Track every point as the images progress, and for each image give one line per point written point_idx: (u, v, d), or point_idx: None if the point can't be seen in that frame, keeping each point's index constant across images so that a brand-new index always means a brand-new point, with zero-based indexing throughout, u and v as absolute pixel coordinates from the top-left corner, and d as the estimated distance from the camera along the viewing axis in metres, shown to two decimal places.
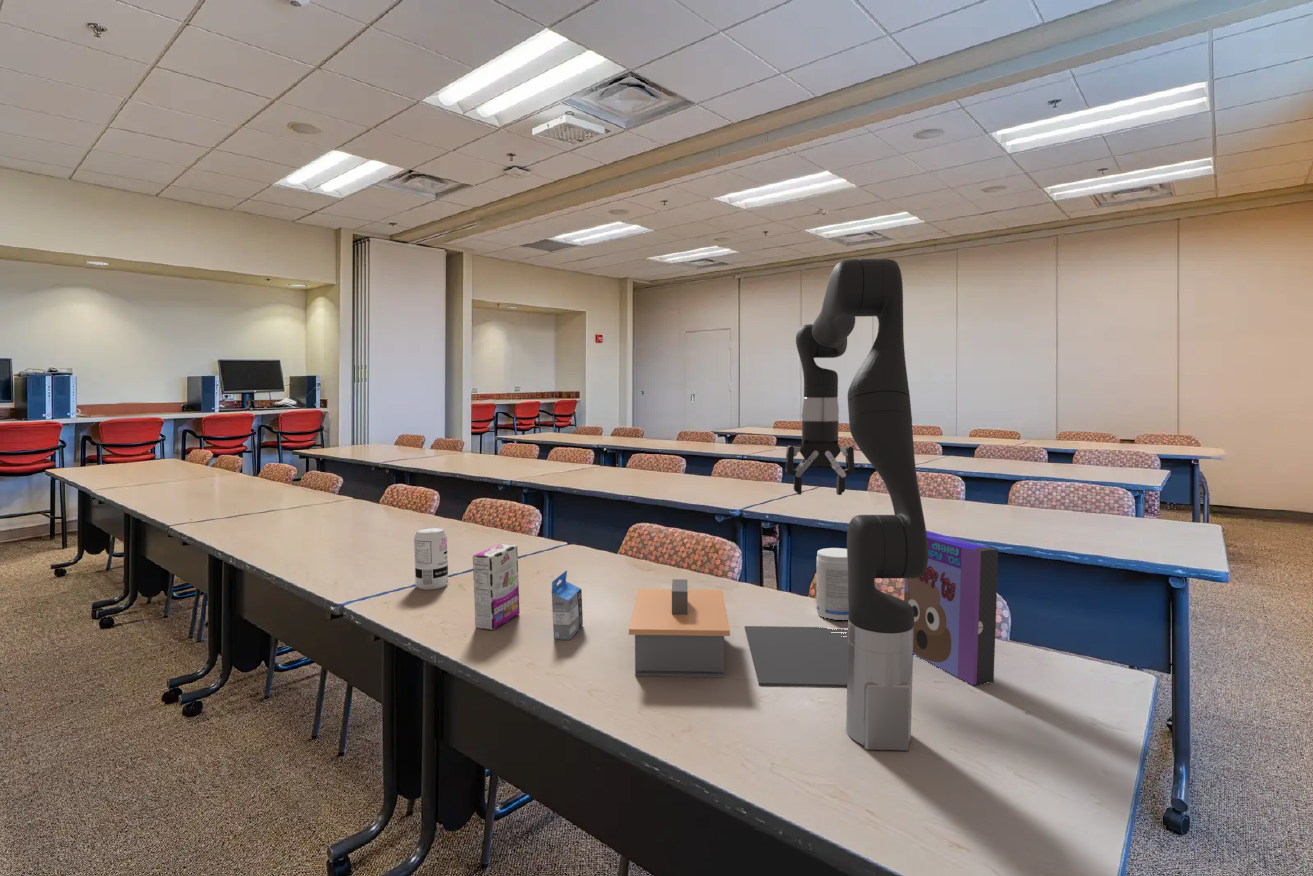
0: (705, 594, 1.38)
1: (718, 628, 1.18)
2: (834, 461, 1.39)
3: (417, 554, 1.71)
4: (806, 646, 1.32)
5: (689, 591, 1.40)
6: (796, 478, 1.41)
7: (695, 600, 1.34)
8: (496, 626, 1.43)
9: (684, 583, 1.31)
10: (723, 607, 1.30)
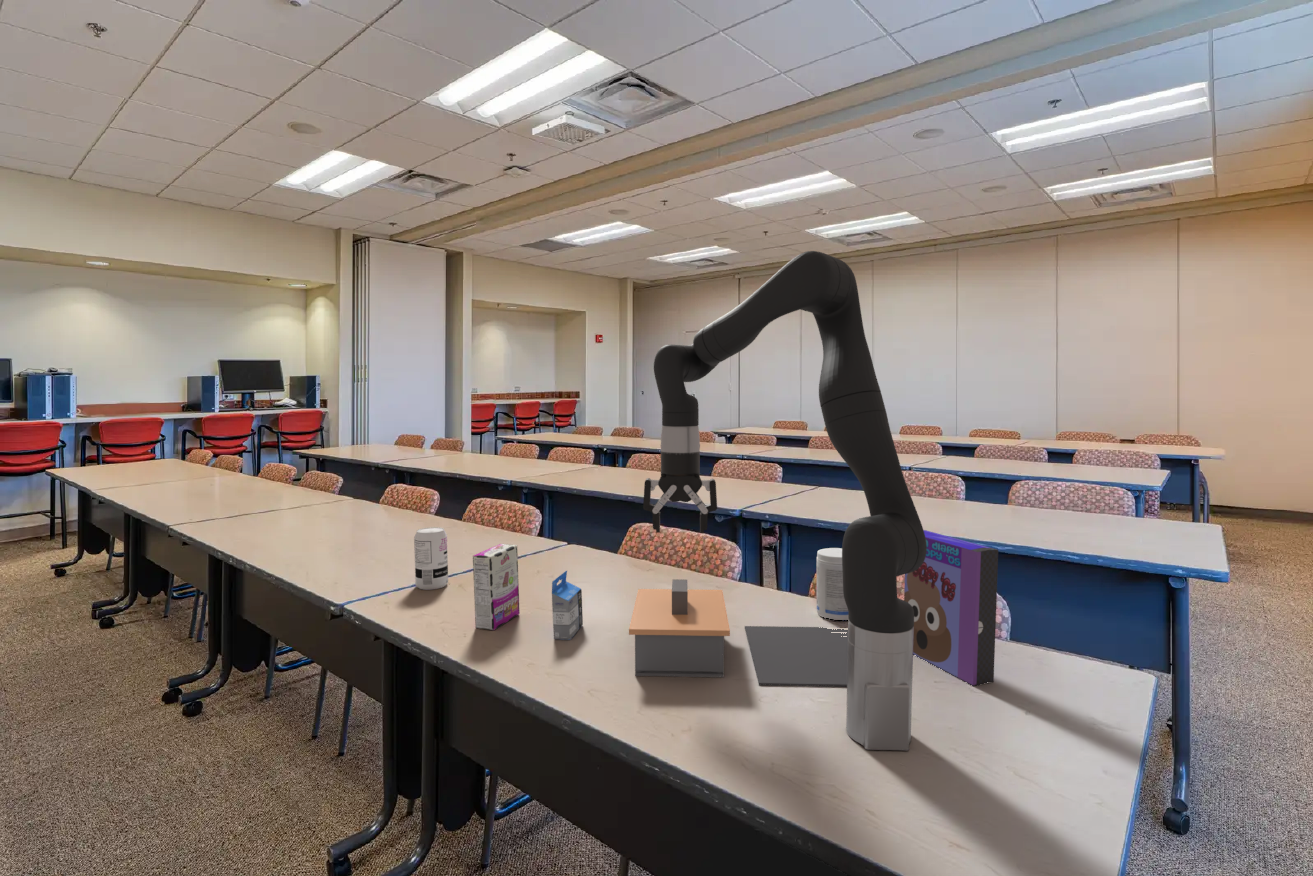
0: (705, 594, 1.38)
1: (718, 628, 1.18)
2: (694, 496, 1.26)
3: (417, 554, 1.71)
4: (806, 646, 1.32)
5: (689, 591, 1.40)
6: (654, 514, 1.28)
7: (695, 600, 1.34)
8: (496, 626, 1.43)
9: (684, 583, 1.31)
10: (723, 607, 1.30)
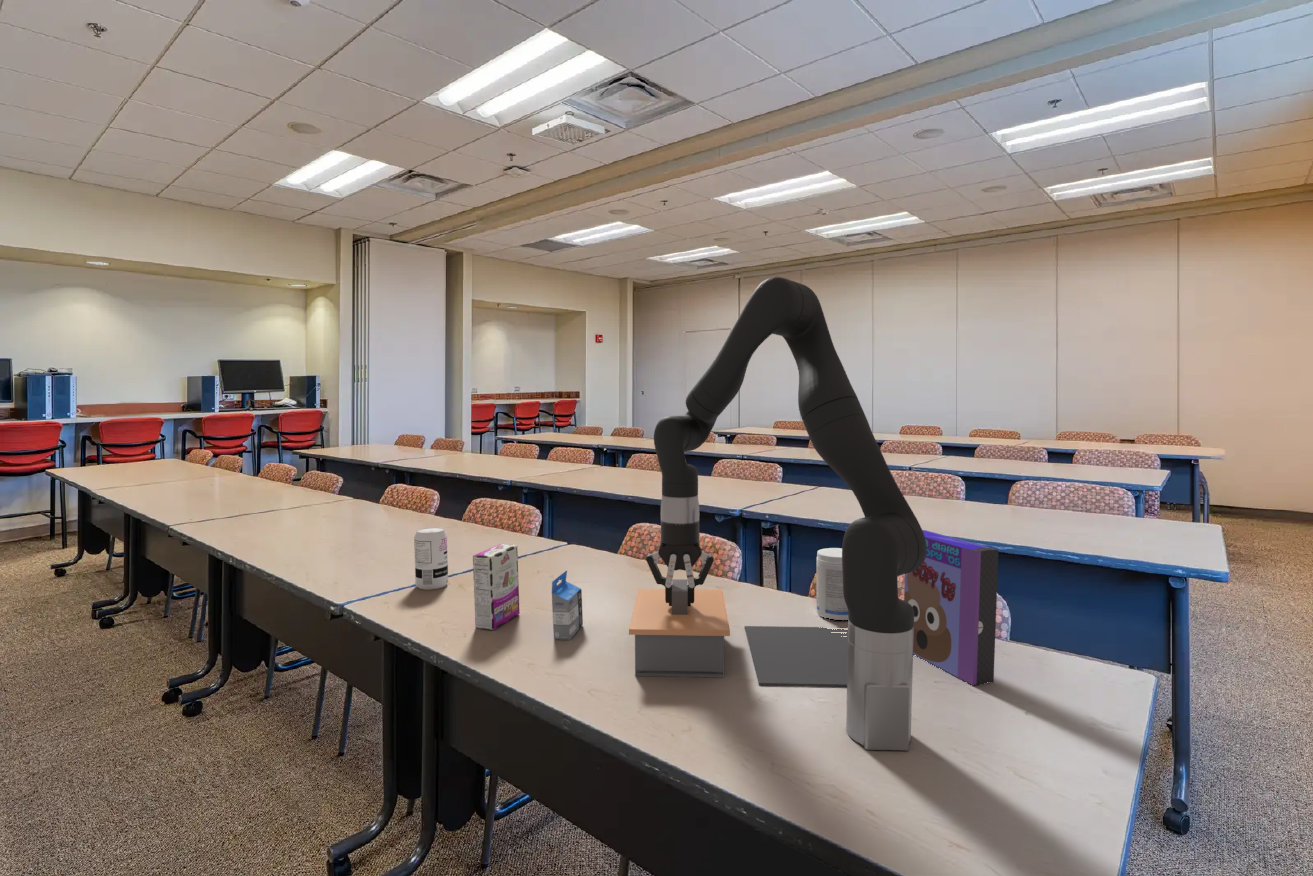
0: (705, 594, 1.38)
1: (718, 628, 1.18)
2: (689, 568, 1.27)
3: (417, 554, 1.71)
4: (806, 646, 1.32)
5: None
6: (667, 588, 1.29)
7: (695, 600, 1.34)
8: (496, 626, 1.43)
9: (684, 583, 1.31)
10: (723, 607, 1.30)
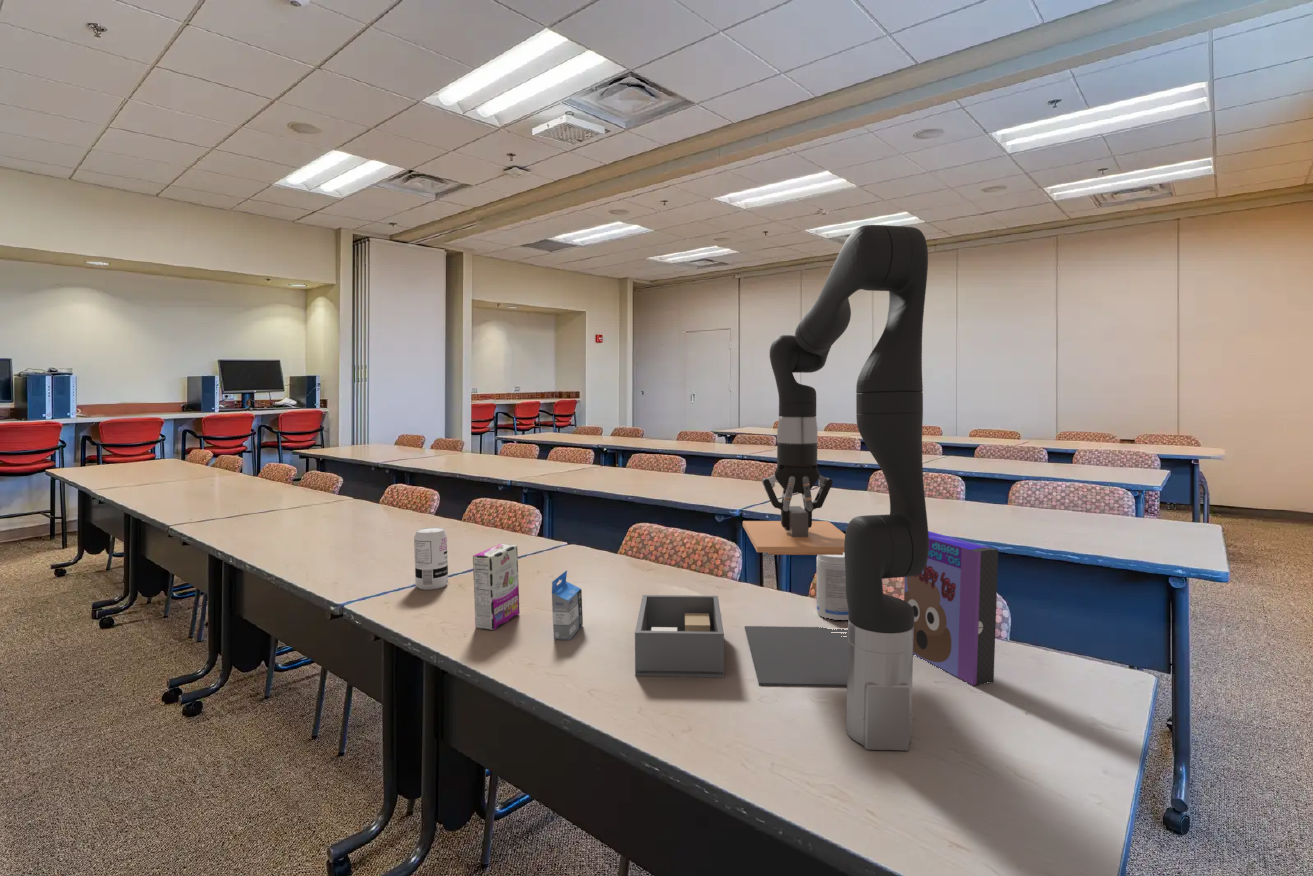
0: (813, 523, 1.36)
1: None
2: (808, 490, 1.25)
3: (417, 554, 1.71)
4: (806, 646, 1.32)
5: None
6: (784, 512, 1.26)
7: None
8: (496, 626, 1.43)
9: (798, 508, 1.29)
10: (840, 532, 1.28)
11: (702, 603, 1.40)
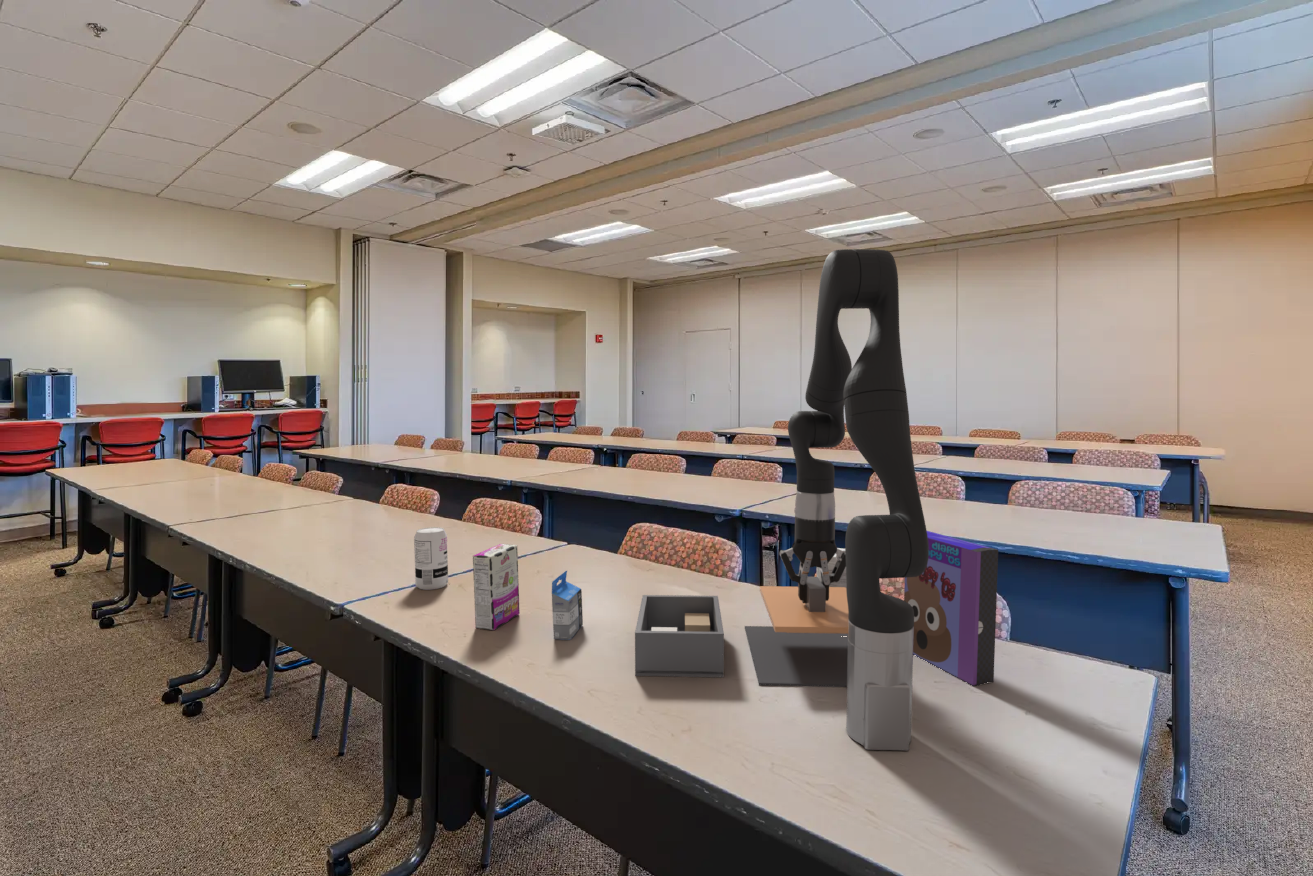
0: (830, 591, 1.37)
1: None
2: (825, 565, 1.26)
3: (417, 554, 1.71)
4: (806, 646, 1.32)
5: None
6: (801, 585, 1.27)
7: None
8: (496, 626, 1.43)
9: (816, 580, 1.30)
10: None
11: (702, 603, 1.40)
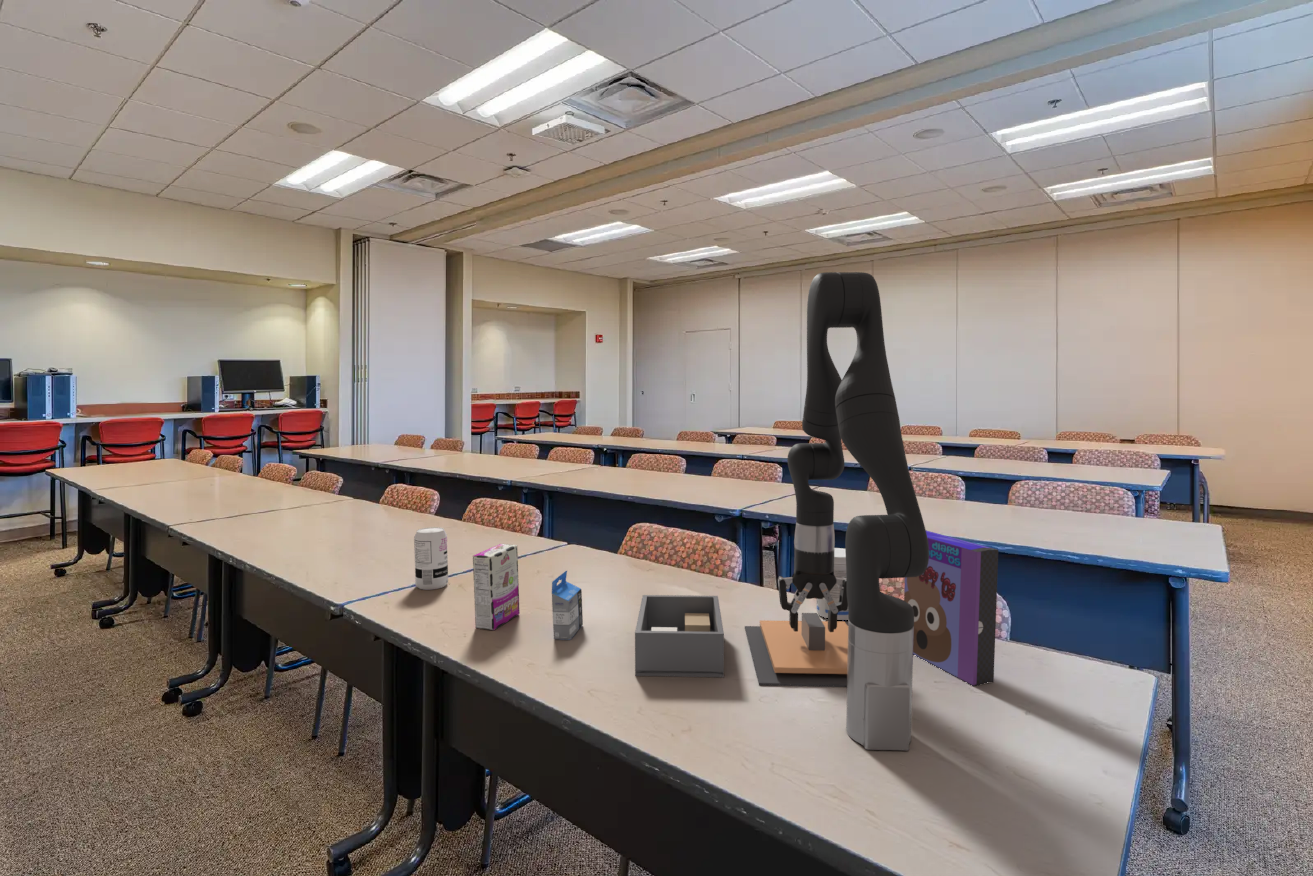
0: None
1: None
2: (828, 595, 1.26)
3: (417, 554, 1.71)
4: None
5: None
6: (792, 614, 1.28)
7: None
8: (496, 626, 1.43)
9: (815, 617, 1.30)
10: None
11: (702, 603, 1.40)
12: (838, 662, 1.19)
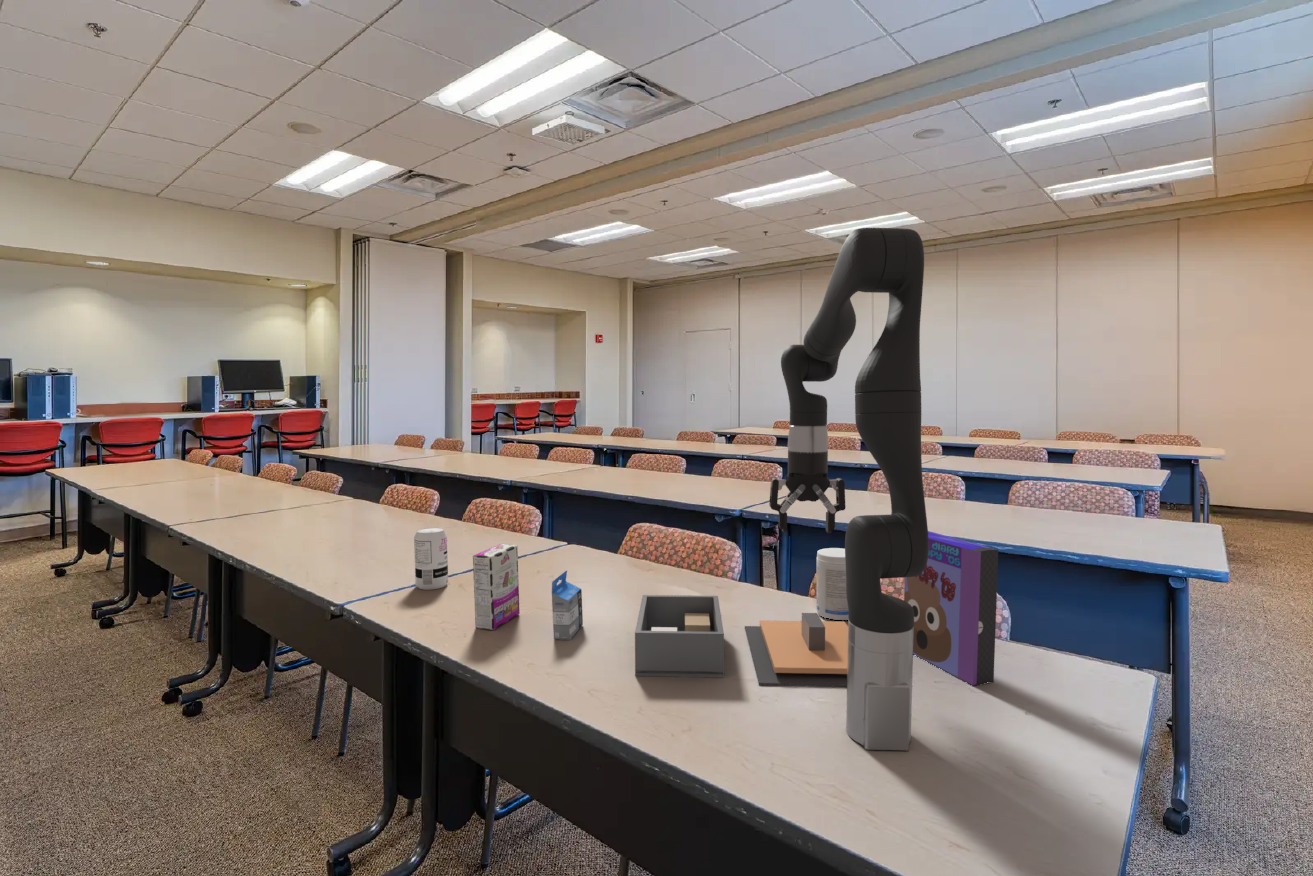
0: (829, 626, 1.38)
1: None
2: (823, 496, 1.26)
3: (417, 554, 1.71)
4: None
5: None
6: (781, 514, 1.28)
7: None
8: (496, 626, 1.43)
9: (815, 617, 1.30)
10: None
11: (702, 603, 1.40)
12: (838, 662, 1.19)
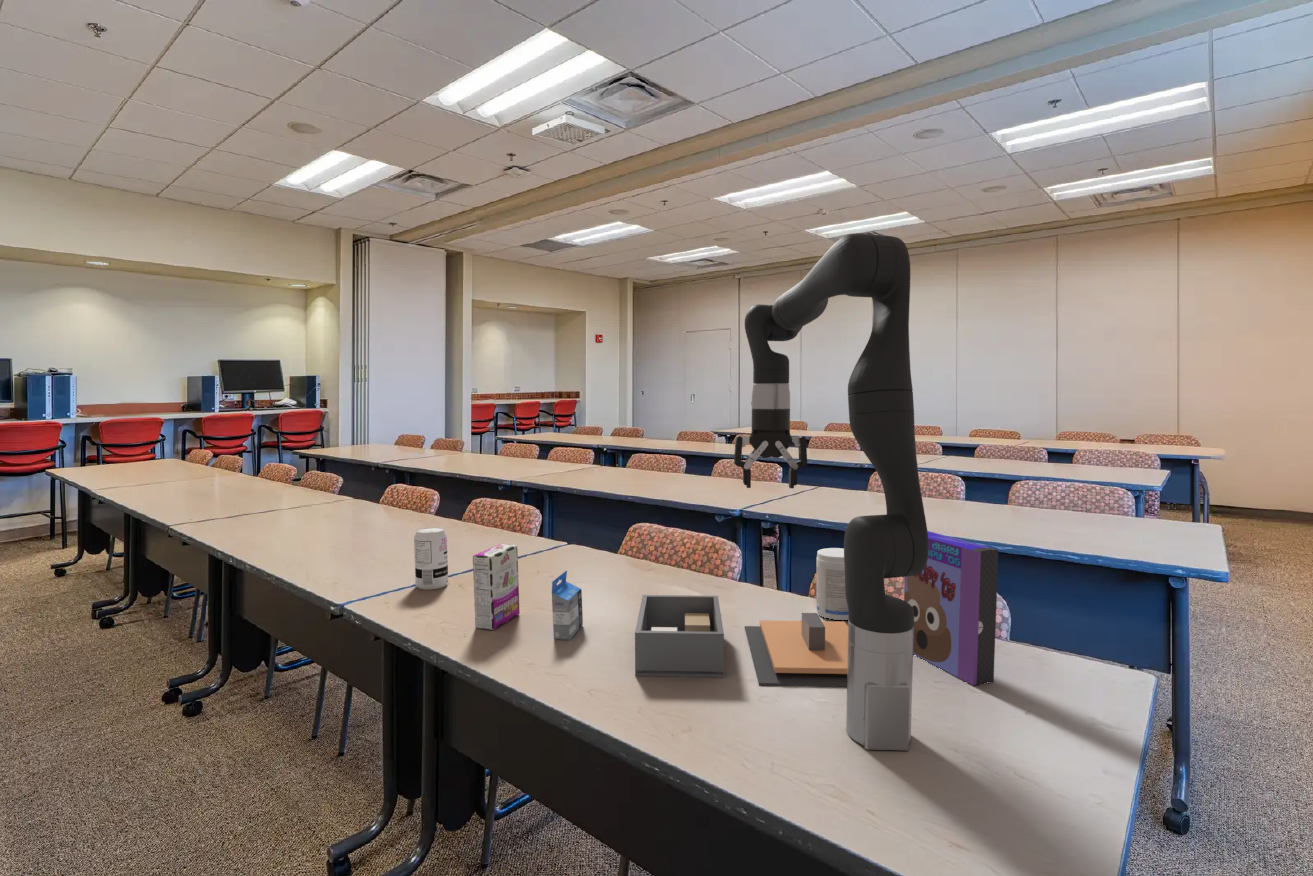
0: (829, 626, 1.38)
1: None
2: (785, 452, 1.30)
3: (417, 554, 1.71)
4: None
5: None
6: (745, 470, 1.31)
7: None
8: (496, 626, 1.43)
9: (815, 617, 1.30)
10: None
11: (702, 603, 1.40)
12: (838, 662, 1.19)
